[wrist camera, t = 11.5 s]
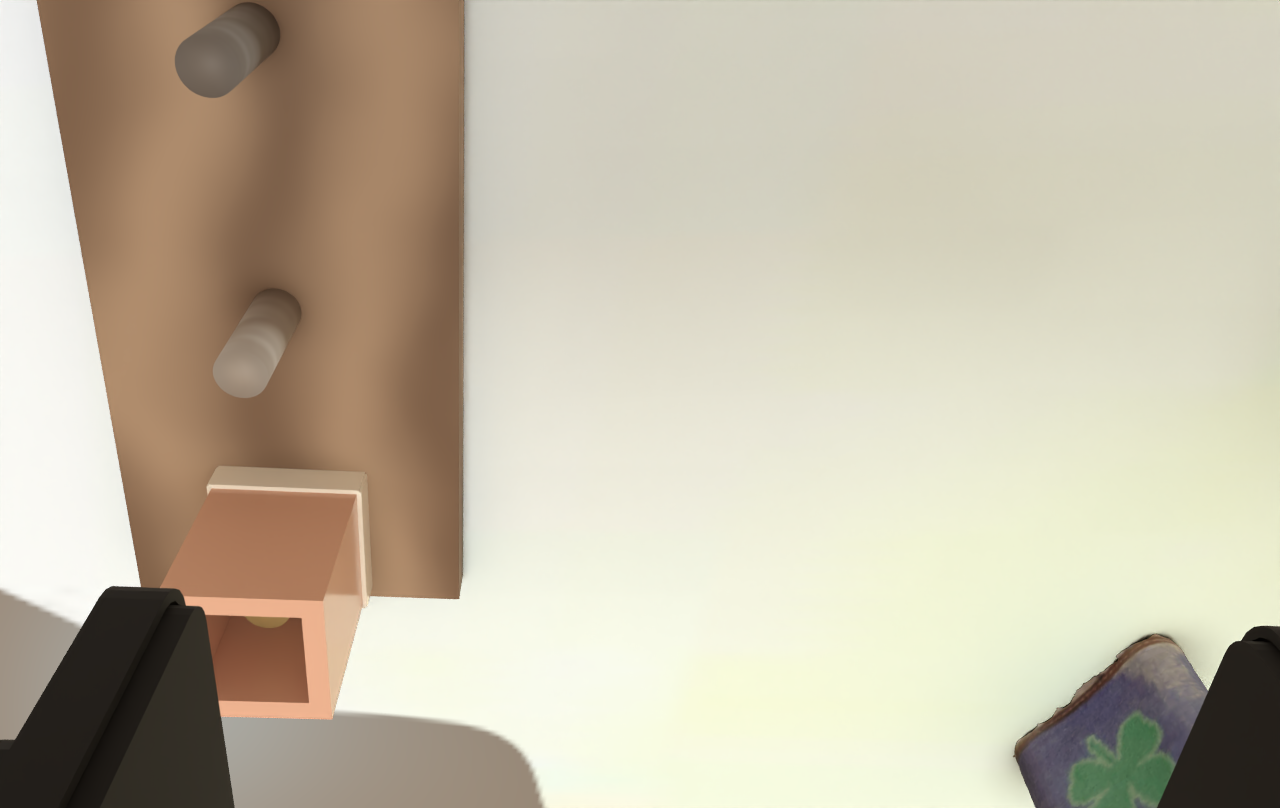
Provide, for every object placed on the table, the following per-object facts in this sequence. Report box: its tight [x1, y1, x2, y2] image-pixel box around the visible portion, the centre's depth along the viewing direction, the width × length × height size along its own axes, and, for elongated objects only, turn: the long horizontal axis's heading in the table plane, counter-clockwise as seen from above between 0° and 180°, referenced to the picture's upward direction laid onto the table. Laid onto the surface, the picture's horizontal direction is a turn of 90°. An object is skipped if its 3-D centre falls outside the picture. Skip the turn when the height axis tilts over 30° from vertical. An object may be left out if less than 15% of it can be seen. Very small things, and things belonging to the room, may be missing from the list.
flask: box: [1013, 634, 1208, 808], centre depth 45 cm, size 9×3×11 cm, turn 144°
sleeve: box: [160, 466, 372, 719], centre depth 38 cm, size 5×5×7 cm
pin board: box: [37, 0, 464, 628], centre depth 36 cm, size 12×24×6 cm, turn 175°
